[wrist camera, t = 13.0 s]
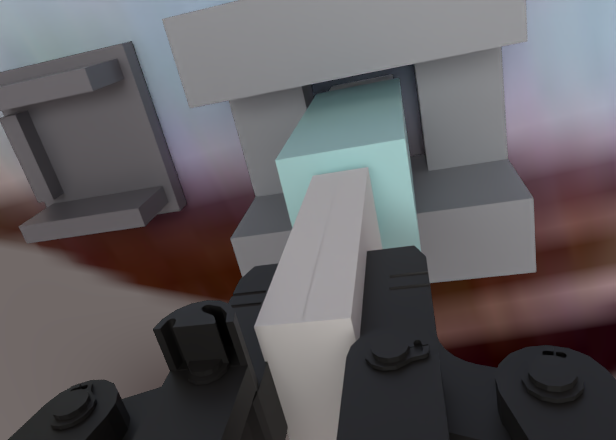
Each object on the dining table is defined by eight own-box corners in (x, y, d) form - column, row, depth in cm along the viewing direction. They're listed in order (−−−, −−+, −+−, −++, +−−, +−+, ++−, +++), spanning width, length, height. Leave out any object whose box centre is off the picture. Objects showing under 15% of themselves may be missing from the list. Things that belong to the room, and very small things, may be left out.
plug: (338, 150, 26) (303, 270, 15) (324, 81, 25) (275, 160, 14) (408, 138, 25) (422, 256, 15) (398, 66, 24) (405, 138, 13)
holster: (66, 222, 31) (23, 254, 27) (-2, 72, 27) (-61, 87, 23) (186, 203, 29) (158, 235, 25) (131, 41, 25) (88, 51, 22)
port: (282, 238, 29) (252, 310, 23) (221, 8, 24) (161, 19, 18) (501, 210, 26) (536, 282, 20) (483, -56, 21) (523, -70, 15)
